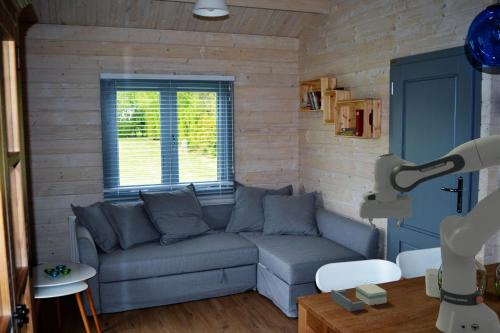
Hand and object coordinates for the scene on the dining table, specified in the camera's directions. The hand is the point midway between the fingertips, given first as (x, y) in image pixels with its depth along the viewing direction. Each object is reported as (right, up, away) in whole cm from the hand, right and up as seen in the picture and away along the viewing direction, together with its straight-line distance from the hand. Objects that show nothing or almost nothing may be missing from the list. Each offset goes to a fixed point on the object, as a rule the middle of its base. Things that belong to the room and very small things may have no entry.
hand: (385, 228), depth 197 cm
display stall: (-15, -30, +1) cm, 34 cm away
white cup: (+23, -29, +9) cm, 38 cm away
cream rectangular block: (-5, -30, +5) cm, 31 cm away
